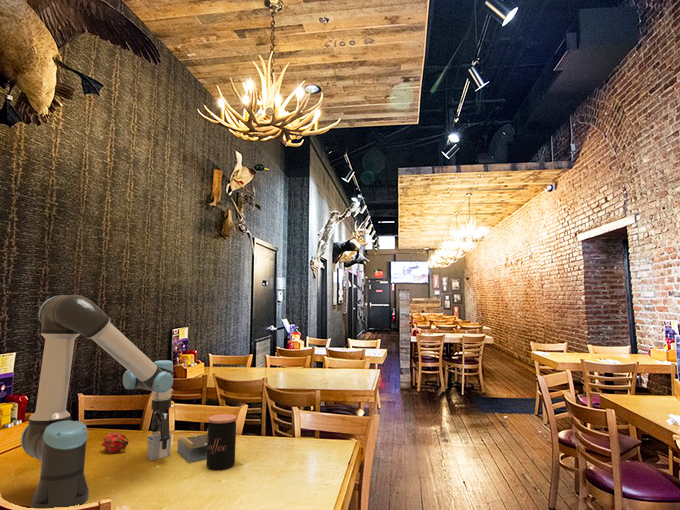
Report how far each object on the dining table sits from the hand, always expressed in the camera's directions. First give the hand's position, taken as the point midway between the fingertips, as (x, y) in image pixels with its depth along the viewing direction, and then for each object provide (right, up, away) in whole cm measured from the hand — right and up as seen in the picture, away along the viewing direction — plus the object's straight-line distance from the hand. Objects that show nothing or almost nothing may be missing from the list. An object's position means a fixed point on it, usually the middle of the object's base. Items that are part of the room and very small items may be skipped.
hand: (158, 452), depth 172 cm
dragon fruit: (-21, -3, +6) cm, 22 cm away
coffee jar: (+28, -1, -9) cm, 29 cm away
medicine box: (0, -2, 0) cm, 2 cm away
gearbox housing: (+17, -2, +5) cm, 18 cm away
